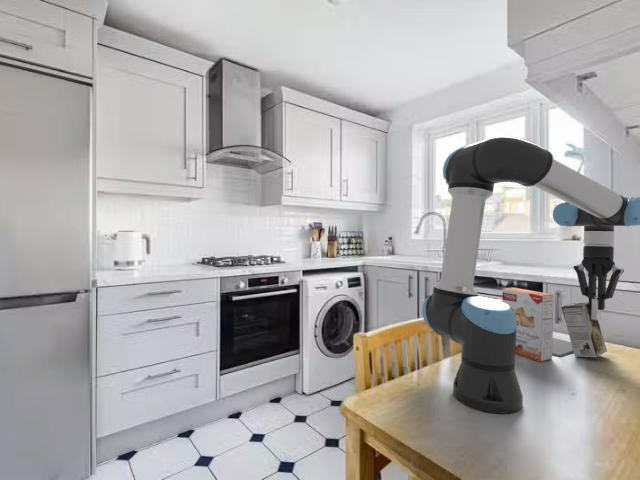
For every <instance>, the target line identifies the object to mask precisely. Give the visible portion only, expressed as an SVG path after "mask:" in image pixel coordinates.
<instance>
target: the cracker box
mask: <svg viewBox="0 0 640 480" xmlns="http://www.w3.org/2000/svg"><path fill="white" fill-rule="evenodd" d="M501 294H502V302H504V303H506V304H508V305H510V306H511V307H512V308H513V309H514V311H515V315H516V324H517V326H516V327H517V328H516V347H515V354H517V355H519V356H523V357H526V358H528V359H531V360H535V361H537V362H539V363H541V362H545V361H546V362H547V361H549V360H553V355H552V338H554V337H553V336H554V335H553V333H554V331H553V330H554V294H553V293H552V294H551V293H545V292H541V291H535V290H529V289H525V288H518V287H504V288H502V293H501Z"/></svg>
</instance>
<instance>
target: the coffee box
mask: <svg viewBox="0 0 640 480" xmlns="http://www.w3.org/2000/svg"><path fill="white" fill-rule="evenodd" d="M588 305H589V302H573V303H570V304H566V305H564V306H560V307H561V308H560V309H561V312H562V315H563V319H564V321H565V322H564V323H565V325H566V329H567V333H568V336H569V340H570V341H569V342H571V344H572V348H573V354H574V357H576V358H581V357H582V358H598V357H600V356H601V355H603V354H605V353H606V352H608V348H607V346H606V343H605V339H604V336H603V332H602V329H601V325H600V323H599V320H592V319H591V313H592V308H589V306H588Z"/></svg>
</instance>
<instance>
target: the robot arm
mask: <svg viewBox="0 0 640 480" xmlns="http://www.w3.org/2000/svg"><path fill="white" fill-rule="evenodd" d="M445 159H446V160H445V161H444V163H443V168H442V176H443V179H444V180H445V183H446V185H448V187H447V188H448V189H447V193H448V194H449V195H450V196H451V197H452V199H451V206H450V213H449V218H448V220H449V221H448V226H447V231H446V240H445V244H444V245H445V246H444V252H443V261H442V265H441V266H442V267H441V274H440V280H439V281H438V282H437V283H436V284H434V285H433V289H432V293H430V294H429V295H428V297H426V298H425V300H424V302H423V304H422V308H421V309H422V310H421V312H422V313H421V314H422V318H423V321H424V323H425V324H426V326H427V327H428V328H429V329H430V330H431V331H433V332H434V333H436V334H437V335H438V336H440V337H444V338H445V339H448V340H451V341H452V342H454V343H456V344H459V345H461V351H460V352H461V360H460V365H459V367H458V370H457V373H456V375H455V377H454V379H453V384H452V385H453V386H452V387H453V388H452V393H453V396H454V397H455V399H456V400H458V401H459V402H460V403H462V404H463V405H466V406H467V407H470V408H473V409H475V410H478V411H482V412H487V413H492V414H502V415H503V414H513V413H516V412H519V411H521V409H522V408H523V405H524V404H523V401H524V399H523V398H524V397H523V393H522V391H521V386H520V384H519V383H520V382H519V379H518V377H517V374H516V369H515V367H516V366H515V365H516V353H515V347H516V328H517V327H516V326H517V324H516V315H515V311H514V309H513V308H512V307H511V306H510V305H508V304H506V303H504V302H502V301H501V300H498V299H496V298H489V297H485V296H479V293H478V292H477V290H476V289H475V287H474V282H475V274H476V268H477V262H478V255H479V247H480V241H481V235H482V228H483V227H482V226H483V221H484V213H485V207H486V200H488V199H489V198H490V197H492V196H493V194H494V186H495V184H499V183H514V184H519V185H522V187H526V188H529V187H530V188H531V187H535V188H537V189H539V190H541V191H543V192H545V193H547V194H549V195H552V196H554V197H555V198H558V199H559V200H561V201H562V202H559V203H557V204H555V207H554V208H553V211H552V218H553V222H555V224H557V225H559V226H561V227H567V228H568V227H570V228H571V227H583V242H582V243H583V244H584V246H583V249H582V250H583V251H582V252H583V253H582V255H583V256H582V257H583V259H582V260H581V263H579V264H576V265H574V266H573V269H574V271H575V273H576V275H577V279H578V283H579V288H580V292H581V296H585V297H587V299H588V303H589V305H588V306H589V308H592V313H591V319H592V320H598V321H599V320H601V319H602V311H604V310H605V307H606V306H605V305H606V300H608V299H613V297H614V294H615V291H616V288H617V285H618V283H619V278H621V275H623V273H624V272H625V270H624V269H623V268H620V267H618V266H616V263H615V261H614V253H615V252H614V249H615V248H614V247H613V246H612V245H614V244H615V227H633V226H640V196H630V197H626V196H623V195H622V194H619V193H617V192H615V191H614V190H612V189H610V188H608V187H607V186H605V185H602V184H600V183H599V182H597V181H595V180H594V179H591V178H590V177H588V176H586V175H584V174H582V173H580V172H578V171H577V170H575V169H573V168H570V167H569V166H567V165H565V164H563V163H561V162H560V161H558V160H556V159H554V156H553V154H552V152H550V151H549V150H547V149H545V148H543V147H542V146H539V145H538V144H535V143H533V142H530V141H527V140H524V139H521V138H517V137H513V136H507V135H498V136H492V137H489V138H486V139H484V140H481V141H478V142H475V143H472V144H467V145H464V146H460V148H457V149H455V150H454V151H452V152H451V153H450V154H449V155H448V156H447V158H445ZM584 270H585V271H586V272H587V277H588V279H587V277H586V274H585V273H586V272H585V271H584ZM610 272H611V273H612V274H611V275H610V278H609V282H608V285H607V277H608V274H609V273H610ZM587 280H588V281H587Z"/></svg>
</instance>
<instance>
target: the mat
mask: <svg viewBox="0 0 640 480" xmlns="http://www.w3.org/2000/svg"><path fill="white" fill-rule="evenodd" d="M572 353H573V354H574V352H573V348H572V344H571V341H567V340H564V339H560V338H555V337H552V356H555V357H558V358H561V357H564V356H566V355H570V354H572Z"/></svg>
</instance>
